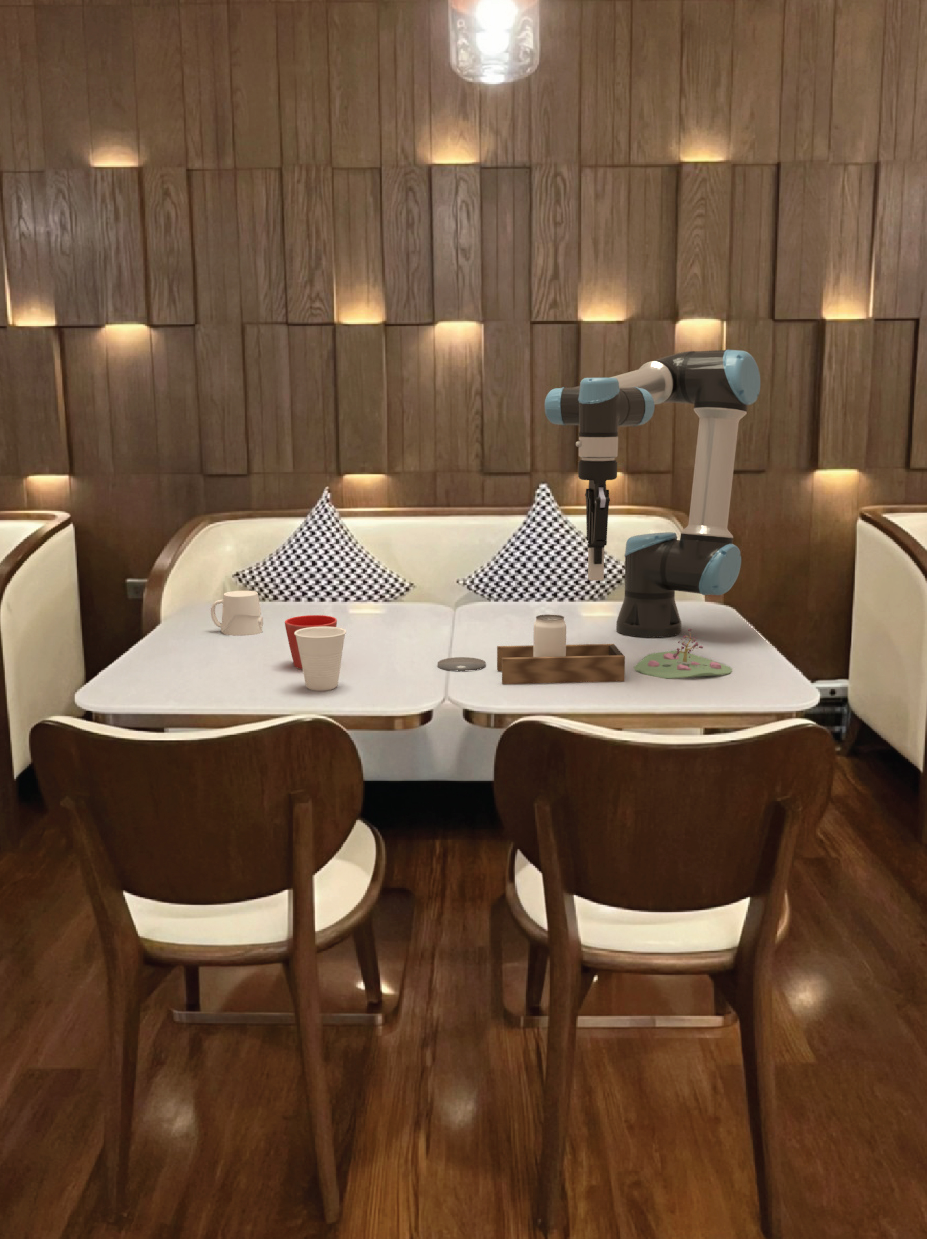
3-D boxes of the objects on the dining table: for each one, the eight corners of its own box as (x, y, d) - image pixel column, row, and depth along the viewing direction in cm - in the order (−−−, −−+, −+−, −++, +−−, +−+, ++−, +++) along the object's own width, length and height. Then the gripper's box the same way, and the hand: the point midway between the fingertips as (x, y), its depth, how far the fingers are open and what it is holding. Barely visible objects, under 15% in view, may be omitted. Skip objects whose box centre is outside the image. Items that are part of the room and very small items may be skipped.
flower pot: (297, 674, 233) (295, 627, 231) (279, 663, 242) (277, 617, 240) (345, 668, 237) (344, 622, 236) (327, 657, 247) (325, 612, 245)
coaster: (483, 659, 244) (483, 656, 244) (487, 670, 234) (487, 668, 234) (436, 660, 243) (436, 657, 243) (438, 671, 234) (438, 669, 233)
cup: (297, 681, 227) (295, 626, 225) (348, 680, 228) (346, 625, 225) (294, 694, 217) (292, 637, 215) (347, 693, 218) (345, 636, 216)
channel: (613, 667, 236) (613, 643, 235) (624, 681, 225) (624, 656, 224) (497, 669, 235) (497, 646, 234) (502, 684, 224) (502, 659, 223)
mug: (264, 590, 275) (256, 596, 267) (266, 628, 276) (258, 636, 269) (215, 590, 275) (205, 596, 267) (216, 628, 277) (207, 635, 269)
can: (563, 680, 226) (564, 620, 224) (531, 679, 228) (531, 619, 225) (567, 672, 232) (568, 614, 230) (535, 671, 234) (536, 613, 231)
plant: (614, 655, 249) (615, 615, 248) (705, 652, 252) (707, 611, 250) (648, 684, 225) (650, 639, 223) (749, 680, 228) (751, 635, 226)
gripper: (572, 456, 229) (571, 574, 233) (584, 461, 215) (582, 585, 220) (610, 456, 229) (607, 573, 234) (624, 461, 215) (621, 585, 220)
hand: (595, 579), depth 227 cm, fingers closed
